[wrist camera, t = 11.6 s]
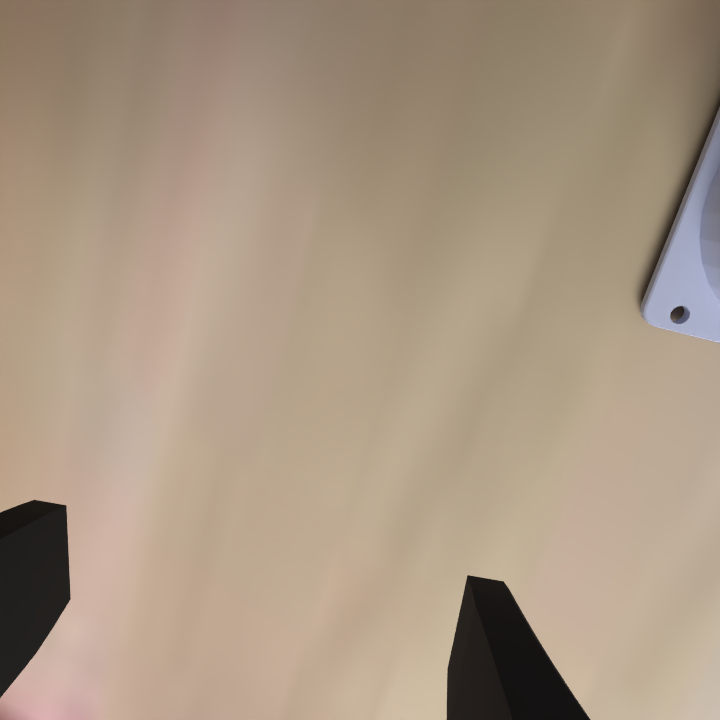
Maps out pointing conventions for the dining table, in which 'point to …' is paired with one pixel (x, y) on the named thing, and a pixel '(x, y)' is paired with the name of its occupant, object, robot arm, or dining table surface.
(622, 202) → the dining table surface
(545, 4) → the dining table surface
